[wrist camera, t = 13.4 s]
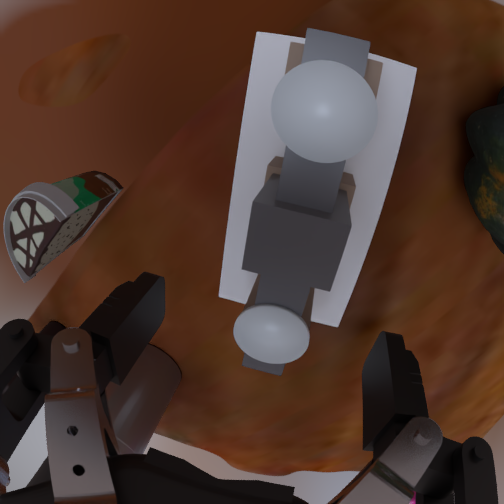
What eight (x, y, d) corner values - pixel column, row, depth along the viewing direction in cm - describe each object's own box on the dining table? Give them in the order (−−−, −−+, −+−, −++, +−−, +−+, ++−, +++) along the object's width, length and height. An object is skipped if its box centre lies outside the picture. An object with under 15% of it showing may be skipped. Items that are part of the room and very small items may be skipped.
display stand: (337, 317, 31) (335, 377, 24) (223, 288, 32) (194, 340, 26) (411, 69, 19) (446, 60, 12) (261, 35, 21) (231, 11, 14)
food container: (96, 134, 28) (22, 159, 19) (131, 178, 29) (62, 217, 20) (50, 205, 33) (-9, 240, 25) (79, 242, 35) (23, 285, 26)
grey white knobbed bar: (296, 41, 16) (283, 20, 11) (375, 59, 16) (394, 45, 11) (245, 320, 27) (225, 371, 22) (301, 335, 27) (292, 389, 21)
